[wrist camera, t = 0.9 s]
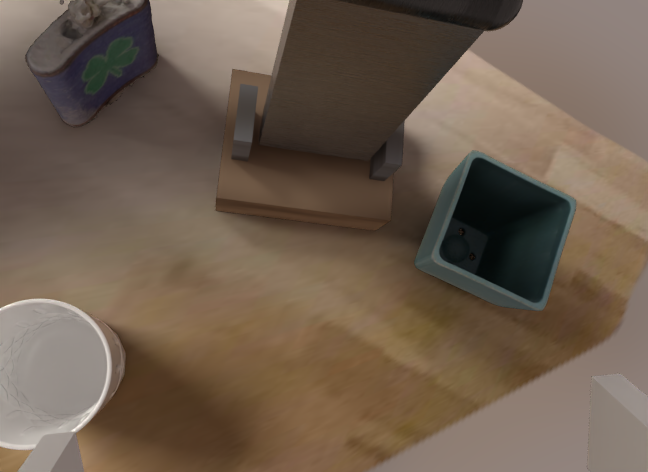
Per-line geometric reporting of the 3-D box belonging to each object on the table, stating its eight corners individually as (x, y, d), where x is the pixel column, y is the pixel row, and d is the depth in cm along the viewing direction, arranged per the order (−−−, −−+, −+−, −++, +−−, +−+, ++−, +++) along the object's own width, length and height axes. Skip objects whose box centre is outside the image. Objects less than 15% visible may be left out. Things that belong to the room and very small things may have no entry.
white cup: (158, 355, 40) (142, 359, 31) (79, 446, 38) (36, 482, 29) (73, 286, 40) (31, 269, 30) (-11, 374, 38) (-85, 386, 28)
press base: (375, 230, 46) (409, 208, 38) (215, 210, 43) (217, 182, 35) (382, 117, 48) (416, 74, 40) (230, 92, 45) (235, 41, 38)
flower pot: (387, 275, 45) (430, 259, 36) (424, 181, 47) (472, 146, 39) (481, 318, 46) (544, 313, 37) (513, 225, 48) (579, 199, 40)
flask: (76, 134, 42) (34, 67, 32) (48, 108, 42) (-4, 31, 32) (166, 60, 45) (154, -25, 34) (140, 35, 45) (119, -58, 34)
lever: (379, 170, 42) (536, 14, 22) (239, 149, 40) (270, -43, 20) (381, 138, 42) (536, -43, 22) (243, 115, 41) (277, -104, 21)
